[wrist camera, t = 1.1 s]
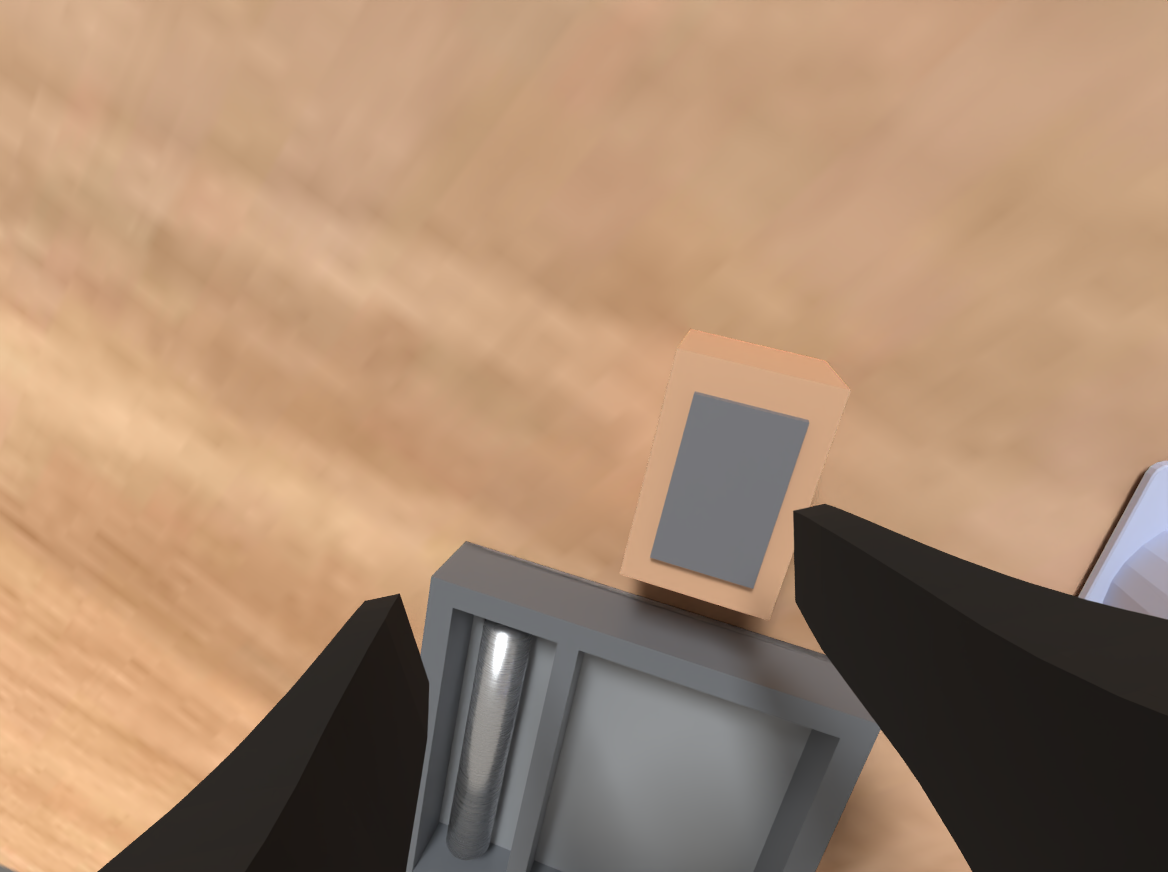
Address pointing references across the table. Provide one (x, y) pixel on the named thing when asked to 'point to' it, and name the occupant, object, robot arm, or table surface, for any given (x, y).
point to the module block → (732, 470)
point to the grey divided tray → (634, 732)
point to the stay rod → (487, 738)
